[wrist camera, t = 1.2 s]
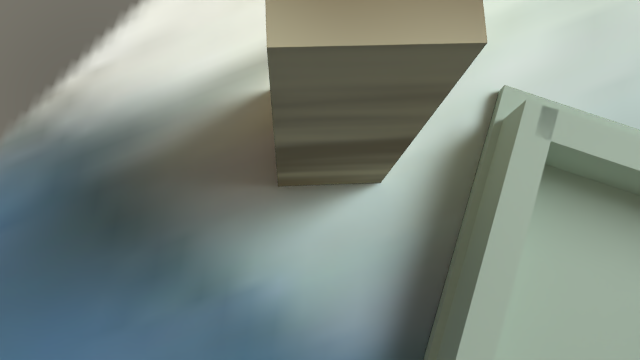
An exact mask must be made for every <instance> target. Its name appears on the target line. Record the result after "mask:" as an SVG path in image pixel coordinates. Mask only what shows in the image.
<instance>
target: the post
mask: <svg viewBox="0 0 640 360" xmlns="http://www.w3.org/2000/svg"><path fill="white" fill-rule="evenodd" d="M265 1H266V34H267V55H268V67H269V79H270V91H271V104H272V116H273V128H274V140H275V152H276V165H277V177H278V186H297V185H325V184H353V183H381V182H382V180H383V179H384V178H385V176H386V175H387V174H388V172H389V171H390V170H391V169H392V167H393V166H394V165H395V163H396V162H397V161H398V159H399V158H400V157H401V155H402V154H403V153H404V151H405V150H406V149H407V148H408V146H409V145H410V144H411V142H412V141H413V140H414V138H415V137H416V136H417V134H418V133H419V132H420V130H421V129H422V128H423V126H424V125H425V124H426V123H427V121H428V120H429V119H430V117H431V116H432V115H433V113H434V112H435V111H436V109H437V108H438V107H439V105H440V104H441V103H442V102H443V100H444V99H445V98H446V96H447V95H448V94H449V92H450V91H451V90H452V88H453V87H454V86H455V84H456V83H457V82H458V81H459V79H460V78H461V77H462V75H463V74H464V73H465V71H466V70H467V69H468V67H469V66H470V65H471V63H472V62H473V61H474V59H475V58H476V57H477V56H478V54H479V53H480V52H481V50H482V49H483V48H484V46H485V45H486V44H487V35H486V26H485V17H484V7H483V0H265Z"/></svg>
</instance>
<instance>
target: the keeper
mask: <svg viewBox="0 0 640 360" xmlns="http://www.w3.org/2000/svg"><path fill="white" fill-rule="evenodd" d="M423 360H640V130H638V129H635V128H632V127H629V126H626V125H623V124H620V123H617V122H614V121H611V120H608V119H605V118H602V117H599V116H596V115H593V114H590V113H587V112H584V111H581V110H578V109H575V108H572V107H569V106H566V105H563V104H560V103H557V102H554V101H551V100H548V99H545V98H542V97H539V96H536V95H533V94H530V93H527V92H524V91H521V90H518V89H515V88H512V87H509V86H506V85H505V86H504V87H503V88H502V89H501V90H500V91H499V95H498V98H497V102H496V105H495V109H494V112H493V116H492V119H491V123H490V126H489V130H488V133H487V137H486V140H485V144H484V148H483V151H482V155H481V158H480V162H479V165H478V169H477V172H476V176H475V179H474V183H473V186H472V190H471V193H470V197H469V200H468V204H467V208H466V211H465V215H464V218H463V222H462V225H461V229H460V232H459V236H458V239H457V243H456V246H455V250H454V253H453V257H452V260H451V264H450V268H449V271H448V275H447V278H446V282H445V285H444V289H443V292H442V296H441V299H440V303H439V306H438V310H437V313H436V317H435V320H434V324H433V328H432V331H431V335H430V338H429V342H428V345H427V349H426V352H425V356H424V359H423Z"/></svg>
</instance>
